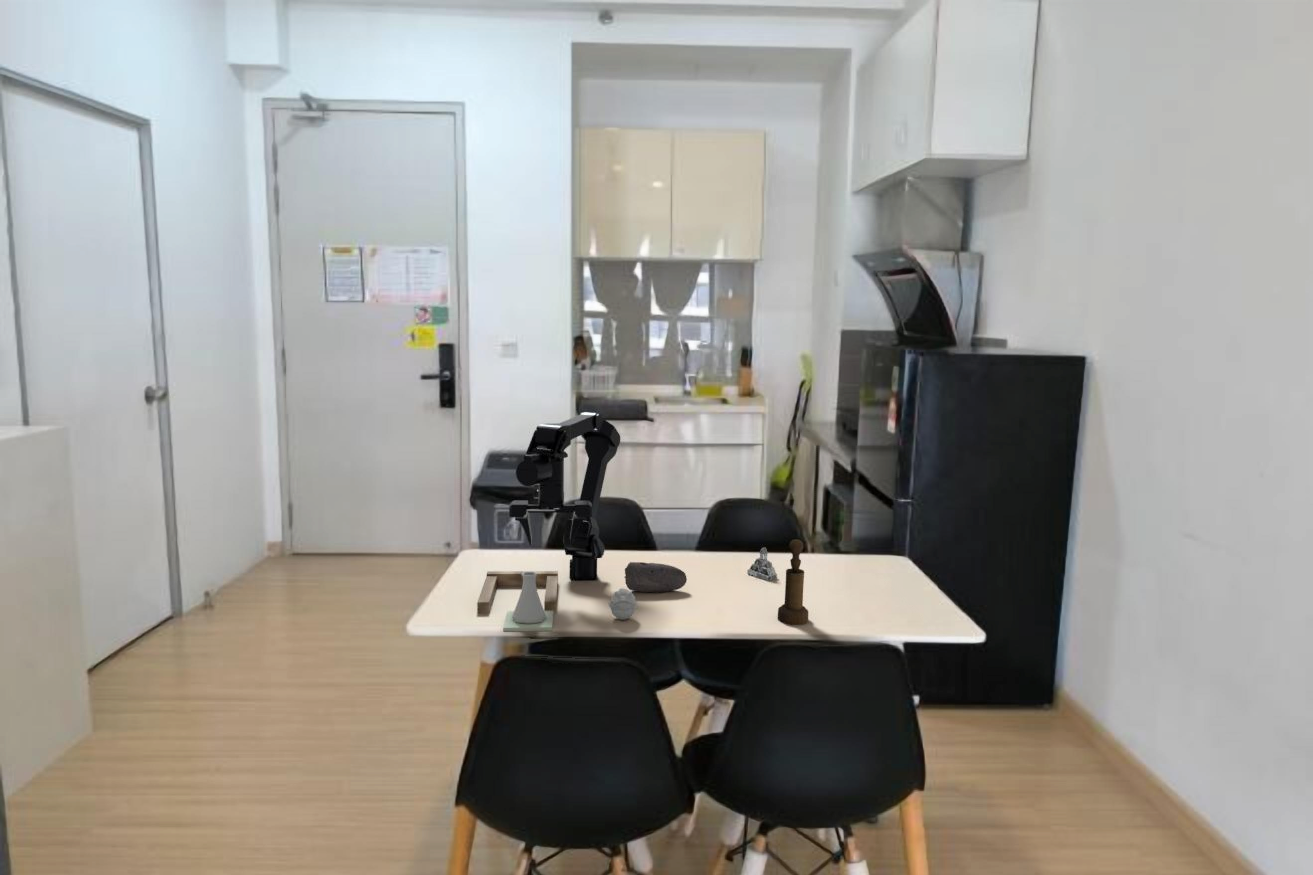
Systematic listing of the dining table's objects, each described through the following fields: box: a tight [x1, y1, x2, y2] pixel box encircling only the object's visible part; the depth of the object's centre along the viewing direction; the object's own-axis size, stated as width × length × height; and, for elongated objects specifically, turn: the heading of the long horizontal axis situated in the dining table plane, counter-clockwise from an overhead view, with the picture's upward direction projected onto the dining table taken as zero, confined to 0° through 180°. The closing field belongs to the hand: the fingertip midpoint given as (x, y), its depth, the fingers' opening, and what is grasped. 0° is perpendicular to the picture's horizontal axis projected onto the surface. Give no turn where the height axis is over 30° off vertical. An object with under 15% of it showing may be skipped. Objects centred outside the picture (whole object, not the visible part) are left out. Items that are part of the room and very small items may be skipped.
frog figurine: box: [608, 588, 638, 621], centre depth 182 cm, size 6×7×7 cm
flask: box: [512, 570, 546, 624], centre depth 179 cm, size 7×7×10 cm
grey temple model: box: [746, 547, 778, 582], centre depth 217 cm, size 9×9×8 cm
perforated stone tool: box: [624, 561, 688, 593], centre depth 202 cm, size 15×5×7 cm, turn 92°
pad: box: [502, 610, 554, 632], centre depth 179 cm, size 10×10×1 cm
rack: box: [476, 570, 559, 614], centre depth 195 cm, size 17×21×3 cm
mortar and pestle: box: [777, 539, 809, 626], centre depth 183 cm, size 7×6×18 cm
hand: (550, 545), depth 196 cm, fingers open, 9 cm apart
